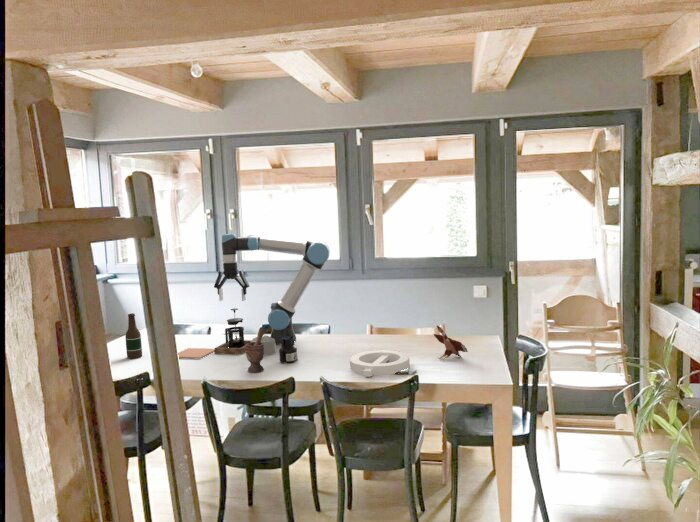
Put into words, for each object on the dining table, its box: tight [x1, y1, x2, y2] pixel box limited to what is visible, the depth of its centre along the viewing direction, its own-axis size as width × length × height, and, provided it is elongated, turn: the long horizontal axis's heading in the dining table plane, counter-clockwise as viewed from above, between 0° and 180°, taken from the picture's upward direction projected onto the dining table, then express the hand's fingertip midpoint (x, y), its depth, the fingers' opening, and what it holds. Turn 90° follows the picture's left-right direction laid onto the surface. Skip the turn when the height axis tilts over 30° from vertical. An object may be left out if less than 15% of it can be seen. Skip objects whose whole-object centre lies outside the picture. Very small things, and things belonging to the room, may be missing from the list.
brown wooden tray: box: [214, 339, 252, 355], centre depth 314 cm, size 16×19×3 cm
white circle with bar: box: [349, 349, 411, 378], centre depth 267 cm, size 28×28×5 cm
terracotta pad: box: [177, 347, 215, 360], centre depth 308 cm, size 18×18×1 cm
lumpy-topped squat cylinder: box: [250, 334, 277, 356], centre depth 304 cm, size 10×13×9 cm
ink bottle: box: [278, 336, 298, 364], centre depth 284 cm, size 10×9×12 cm
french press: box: [224, 308, 245, 348], centre depth 313 cm, size 12×9×23 cm
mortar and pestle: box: [245, 326, 266, 374], centre depth 271 cm, size 12×9×20 cm
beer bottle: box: [125, 313, 143, 360], centre depth 306 cm, size 8×8×24 cm
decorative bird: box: [433, 325, 468, 361], centre depth 275 cm, size 28×18×15 cm, turn 22°
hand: (232, 300), depth 312 cm, fingers open, 13 cm apart
